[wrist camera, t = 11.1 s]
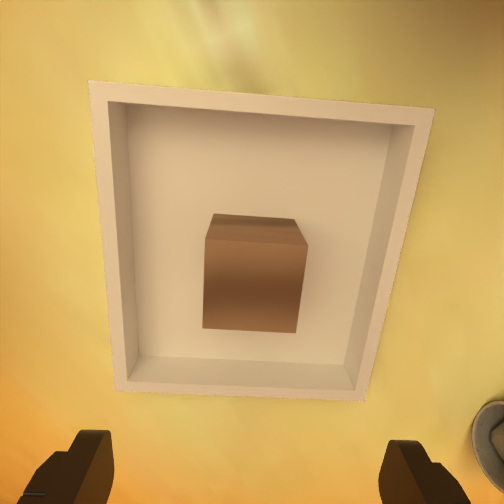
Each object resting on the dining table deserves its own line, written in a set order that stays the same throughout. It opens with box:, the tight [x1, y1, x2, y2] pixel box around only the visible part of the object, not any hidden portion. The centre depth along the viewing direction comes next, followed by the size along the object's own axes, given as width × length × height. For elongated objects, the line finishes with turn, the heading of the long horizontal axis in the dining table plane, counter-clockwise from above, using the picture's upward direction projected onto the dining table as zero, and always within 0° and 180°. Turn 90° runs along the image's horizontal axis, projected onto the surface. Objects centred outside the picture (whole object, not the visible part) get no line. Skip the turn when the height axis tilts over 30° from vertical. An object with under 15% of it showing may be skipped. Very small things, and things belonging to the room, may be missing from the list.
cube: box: [202, 213, 308, 333], centre depth 23 cm, size 6×6×6 cm
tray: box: [88, 80, 435, 401], centre depth 25 cm, size 22×20×4 cm
